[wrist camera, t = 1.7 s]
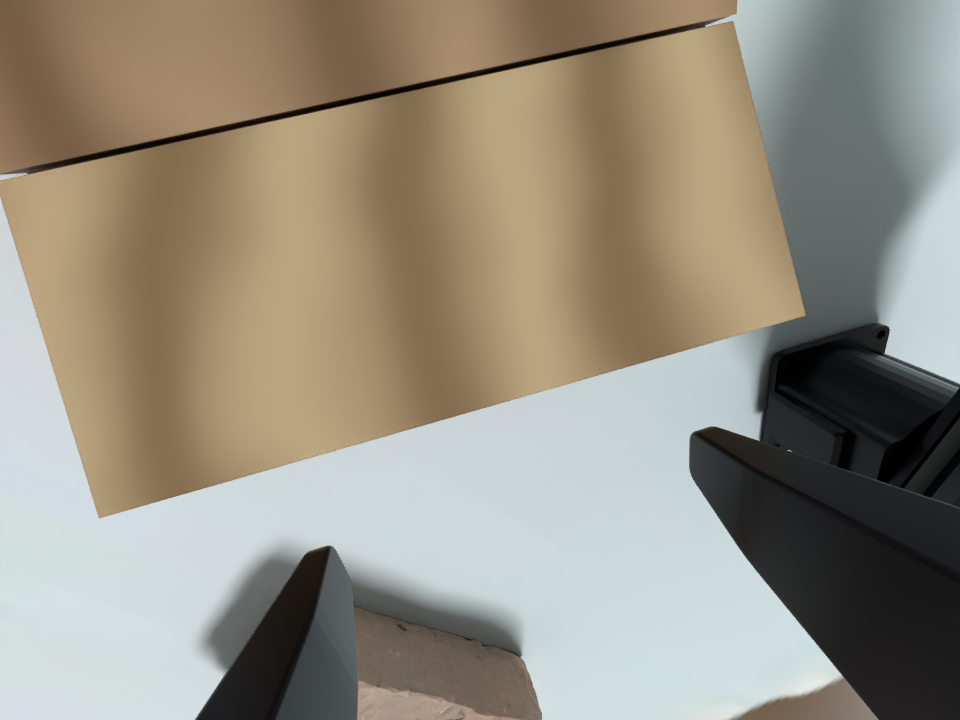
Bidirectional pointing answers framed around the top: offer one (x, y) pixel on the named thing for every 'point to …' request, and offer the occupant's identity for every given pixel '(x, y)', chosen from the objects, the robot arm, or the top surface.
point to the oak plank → (399, 260)
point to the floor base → (269, 60)
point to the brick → (436, 675)
